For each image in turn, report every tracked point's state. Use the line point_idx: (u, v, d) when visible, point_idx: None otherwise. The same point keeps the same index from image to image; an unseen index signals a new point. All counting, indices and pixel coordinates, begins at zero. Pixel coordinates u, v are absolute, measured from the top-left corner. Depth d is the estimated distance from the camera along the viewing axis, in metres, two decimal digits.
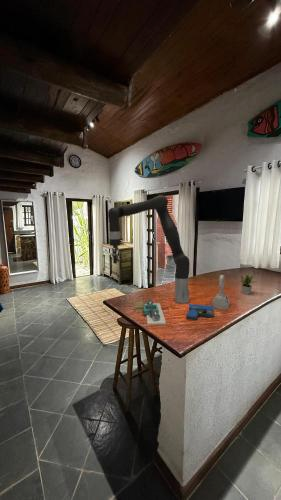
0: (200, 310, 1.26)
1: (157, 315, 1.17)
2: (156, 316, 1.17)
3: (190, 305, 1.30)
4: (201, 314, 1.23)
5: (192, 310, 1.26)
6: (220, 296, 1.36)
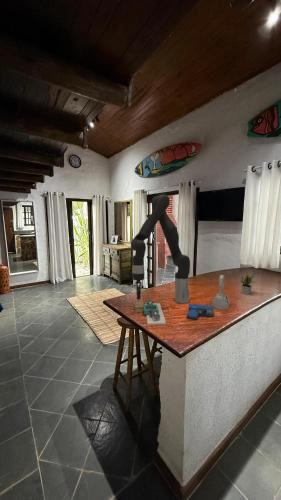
0: (200, 310, 1.26)
1: (157, 315, 1.17)
2: (156, 316, 1.17)
3: (190, 305, 1.31)
4: (201, 314, 1.23)
5: (192, 310, 1.26)
6: (220, 296, 1.36)
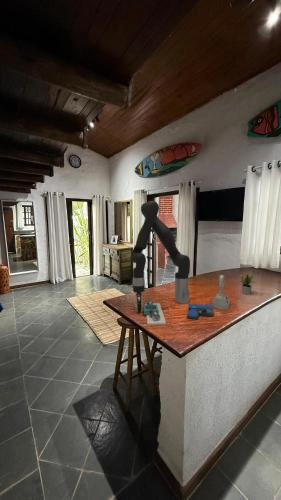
0: (200, 309, 1.27)
1: (157, 315, 1.17)
2: (156, 316, 1.17)
3: (190, 305, 1.31)
4: (201, 313, 1.23)
5: (192, 310, 1.26)
6: (220, 296, 1.36)
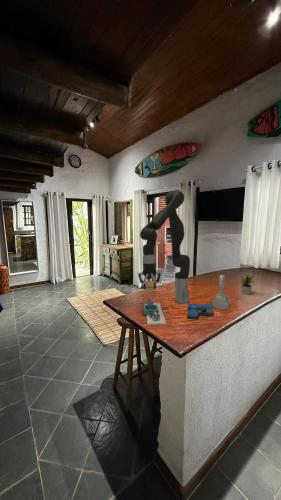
0: (200, 309, 1.27)
1: (157, 315, 1.17)
2: (156, 316, 1.17)
3: (189, 304, 1.31)
4: (201, 313, 1.24)
5: (192, 309, 1.27)
6: (220, 296, 1.36)
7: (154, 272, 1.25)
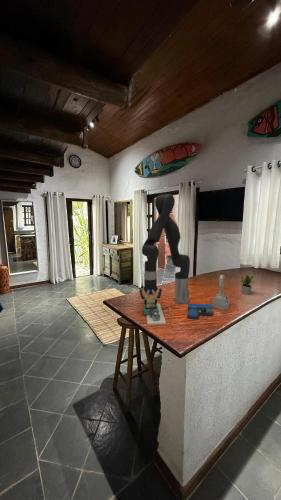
0: (200, 309, 1.27)
1: (157, 315, 1.17)
2: (156, 316, 1.17)
3: (189, 304, 1.31)
4: (201, 313, 1.24)
5: (192, 309, 1.27)
6: (220, 296, 1.36)
7: (155, 288, 1.26)
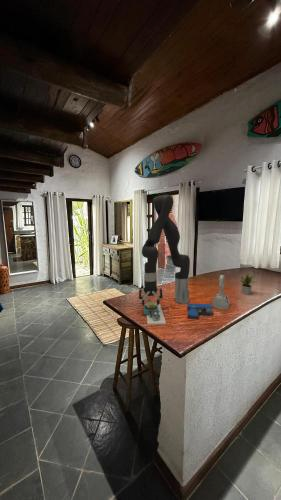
0: (199, 309, 1.28)
1: (157, 315, 1.17)
2: (156, 316, 1.17)
3: (189, 304, 1.31)
4: (201, 313, 1.25)
5: (192, 309, 1.27)
6: (220, 296, 1.36)
7: (155, 289, 1.26)
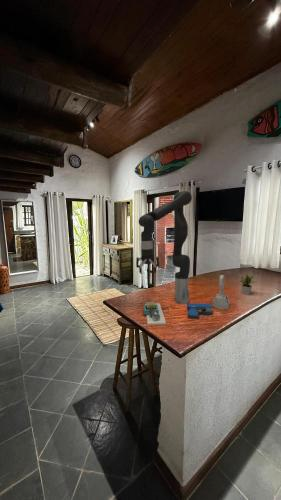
0: (199, 308, 1.28)
1: (157, 315, 1.17)
2: (156, 316, 1.17)
3: (189, 304, 1.32)
4: (201, 312, 1.25)
5: (192, 309, 1.27)
6: (220, 296, 1.36)
7: (152, 258, 1.30)
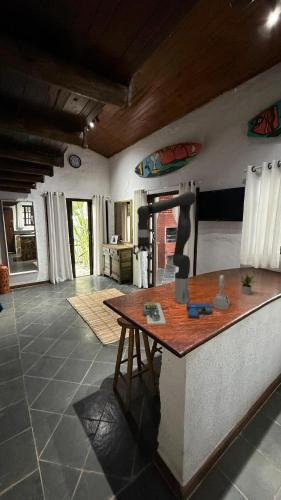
0: (199, 308, 1.29)
1: (157, 315, 1.17)
2: (156, 316, 1.17)
3: (188, 304, 1.32)
4: (201, 312, 1.25)
5: (192, 309, 1.28)
6: (220, 296, 1.36)
7: (147, 245, 1.41)
